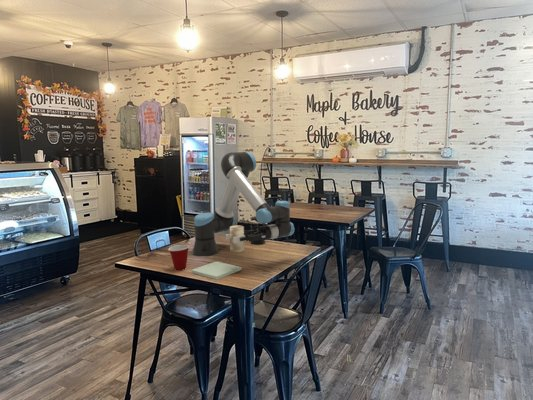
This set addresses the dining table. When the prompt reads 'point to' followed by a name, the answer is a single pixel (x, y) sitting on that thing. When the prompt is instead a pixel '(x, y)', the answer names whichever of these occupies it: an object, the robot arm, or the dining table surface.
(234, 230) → the birch roller
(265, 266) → the dining table surface
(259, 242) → the french press
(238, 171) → the robot arm
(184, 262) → the plastic cup
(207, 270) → the board
